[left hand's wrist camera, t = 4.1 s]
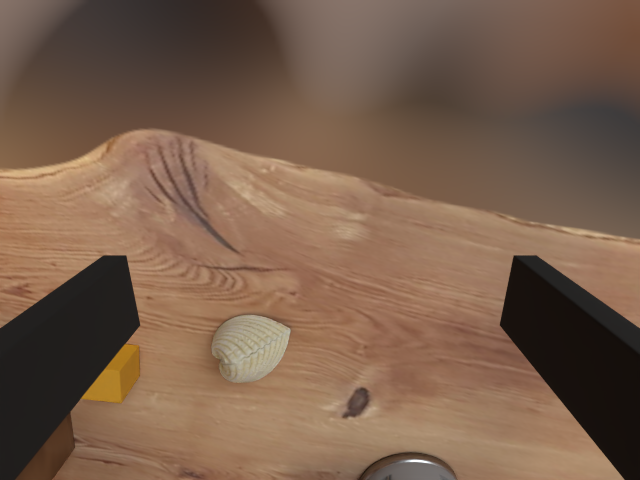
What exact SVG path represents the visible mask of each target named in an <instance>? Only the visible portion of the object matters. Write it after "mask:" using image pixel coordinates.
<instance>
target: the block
mask: <svg viewBox="0 0 640 480" xmlns="http://www.w3.org/2000/svg"><path fill="white" fill-rule="evenodd" d="M139 376H140V368H139V346H138V345H130V344H125V345H124V346H123V347H122V348H121V350H120V351H119V352H118V353H117V354H116V356H115V357H114V358H113V359H112V361H111V362H110V363H109V364H108V366H107V367H106V368H105V369H104V371H103V372H102V373H101V374H100V376H99V377H98V378H97V379H96V380H95V382H94V383H93V384H92V385H91V387H90V388H89V389H88V390H87V392H86V393H85V394H84V395H83V397H82V398H81V399H87V400H96V401H105V402H114V403H122V402H123V400H124V399H125V397H126V396H127V394H128V393H129V391H130V389H131V388H132V386H133V385H134V383H135V382H136V380H137V379H138V377H139Z"/></svg>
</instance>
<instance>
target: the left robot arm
mask: <svg viewBox="0 0 640 480" xmlns="http://www.w3.org/2000/svg"><path fill="white" fill-rule="evenodd" d="M139 326H140V321H139V316H138V311H137V307H136V302H135V297H134V292H133V287H132V282H131V277H130V272H129V267H128V262H127V257H126V256H102V257H101V258H99V259H98V260H97V261H95V262H94V263H92V264H91V265H89V266H88V267H87V268H85V269H84V270H82V271H81V272H80V273H78V274H77V275H75V276H74V277H72V278H71V279H70V280H68V281H67V282H65V283H64V284H63V285H61V286H60V287H58V288H57V289H55V290H54V291H53V292H51V293H50V294H48V295H47V296H46V297H44V298H43V299H41V300H40V301H38V302H37V303H36V304H34V305H33V306H31V307H30V308H29V309H27V310H26V311H24V312H23V313H21V314H20V315H19V316H17V317H16V318H14V319H13V320H12V321H10V322H9V323H7V324H6V325H4V326H3V327H2V328H0V480H15V479H16V478H17V477H18V476H19V474H20V473H21V472H22V471H23V469H24V468H25V467H26V466H27V465H28V463H29V462H30V461H31V460H32V458H33V457H34V456H35V455H36V453H37V452H38V451H39V450H40V448H41V447H42V446H43V445H44V443H45V442H46V441H47V440H48V439H49V437H50V436H51V435H52V434H53V432H54V431H55V430H56V429H57V427H58V426H59V425H60V424H61V422H62V421H63V420H64V419H65V418H66V416H67V415H68V414H69V413H70V411H71V410H72V409H73V408H74V406H75V405H76V404H77V403H78V401H79V400H80V399H81V398H82V397H83V395H84V394H85V393H86V392H87V390H88V389H89V388H90V387H91V385H92V384H93V383H94V382H95V380H96V379H97V378H98V377H99V376H100V374H101V373H102V372H103V371H104V369H105V368H106V367H107V366H108V364H109V363H110V362H111V361H112V359H113V358H114V357H115V356H116V354H117V353H118V352H119V351H120V350H121V348H122V347H123V346H124V345H125V343H126V342H127V341H128V340H129V338H130V337H131V336H132V335H133V333H134V332H135V331H136V330H137V329H138V327H139ZM500 326H501V327H502V329H503V330H504V331H505V332H506V333H507V335H508V336H509V337H510V338H511V340H512V341H513V342H514V343H515V345H516V346H517V347H518V348H519V350H520V351H521V352H522V353H523V354H524V356H525V357H526V358H527V359H528V361H529V362H530V363H531V364H532V366H533V367H534V368H535V369H536V371H537V372H538V373H539V374H540V376H541V377H542V378H543V379H544V380H545V382H546V383H547V384H548V385H549V387H550V388H551V389H552V390H553V392H554V393H555V394H556V395H557V397H558V398H559V399H560V400H561V401H562V403H563V404H564V405H565V406H566V408H567V409H568V410H569V411H570V413H571V414H572V415H573V416H574V418H575V419H576V420H577V421H578V422H579V424H580V425H581V426H582V427H583V429H584V430H585V431H586V432H587V434H588V435H589V436H590V437H591V439H592V440H593V441H594V442H595V443H596V445H597V446H598V447H599V448H600V450H601V451H602V452H603V453H604V455H605V456H606V457H607V458H608V460H609V461H610V462H611V463H612V465H613V466H614V467H615V468H616V469H617V471H618V472H619V473H620V474H621V476H622V477H623V478H624V479H625V480H640V328H638V327H637V326H636V325H634V324H633V323H631V322H630V321H628V320H627V319H626V318H624V317H623V316H621V315H620V314H619V313H617V312H616V311H614V310H613V309H611V308H610V307H609V306H607V305H606V304H604V303H603V302H602V301H600V300H599V299H597V298H596V297H594V296H593V295H592V294H590V293H589V292H587V291H586V290H585V289H583V288H582V287H580V286H579V285H577V284H576V283H575V282H573V281H572V280H570V279H569V278H568V277H566V276H565V275H563V274H562V273H560V272H559V271H558V270H556V269H555V268H553V267H552V266H551V265H549V264H548V263H546V262H545V261H543V260H542V259H541V258H539V257H538V256H514V257H513V262H512V267H511V272H510V277H509V282H508V287H507V292H506V297H505V302H504V307H503V311H502V316H501V321H500ZM360 480H457V478H456V475H455V473H454V471H453V470H452V469H451V468H450V466H449V465H447V464H446V463H445V462H443V461H442V460H440V459H438V458H436V457H433V456H430V455H426V454H421V453H403V454H397V455H393V456H389V457H386V458H384V459H382V460H380V461H378V462H376V463H375V464H373V465H372V466H370V467H369V468H368V469H367V470H366V471H365V472H364V474H363V475H362V477H361V478H360Z"/></svg>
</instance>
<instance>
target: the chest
mask: <svg viewBox="0 0 640 480" xmlns="http://www.w3.org/2000/svg"><path fill="white" fill-rule="evenodd" d="M74 448H75V445H74V438H73V431H72V424H71V417H70V413H69V414H68V415H67V416H66V418H65V419H64V420H63V421H62V422H61V424H60V425H59V426H58V427H57V429H56V430H55V431H54V432H53V434H52V435H51V436H50V437H49V439H48V440H47V441H46V442H45V443H44V445H43V446H42V447H41V448H40V450H39V451H38V452H37V453H36V455H35V456H34V457H33V458H32V460H31V461H30V462H29V463H28V465H27V466H26V467H25V468H24V469H23V471H22V472H21V473H20V474H19V476H18V477H17V478H16V479H15V480H52V479H53V477H54V476H55V475H56V473H57V472H58V470H59V469H60V468H61V466H62V465H63V463H64V462H65V461H66V459H67V458H68V456H69V455H70V454H71V452H72V451H73V449H74Z"/></svg>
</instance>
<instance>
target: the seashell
mask: <svg viewBox="0 0 640 480" xmlns="http://www.w3.org/2000/svg"><path fill="white" fill-rule="evenodd" d="M290 331H291V330H290V328H288V327H286V326H284V325H282V324H281V323H278V322H276V321H273V320H272V319H269V318H266V317H262V316H257V315H243V316H237V317H234V318H232V319H230V320H228V321H226V322H225V323H223V324H222V325H221V326H220V327H219V328H218V330H217V331H216V333H215V334H214V337H213V340H212V345H211V351H212V354H213V356H215V357H216V358H217V359H220V363H219V370H220V372H221V374H222V376H223V377H224V378H225V379H226V380H228V381H231V382H235V383H237V382H239V383H246V382H252V381H255V380H258V379H261V378H262V377H264V376H266V375H267V374H268V373H270V372H271V371H272V370H273V369H274V368H275V367H276V365H277V364H278V363H279V361H280V360H281V358H282V356H283V354H284V352H285V350H286V347H287V344H288V340H289V335H290Z"/></svg>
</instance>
